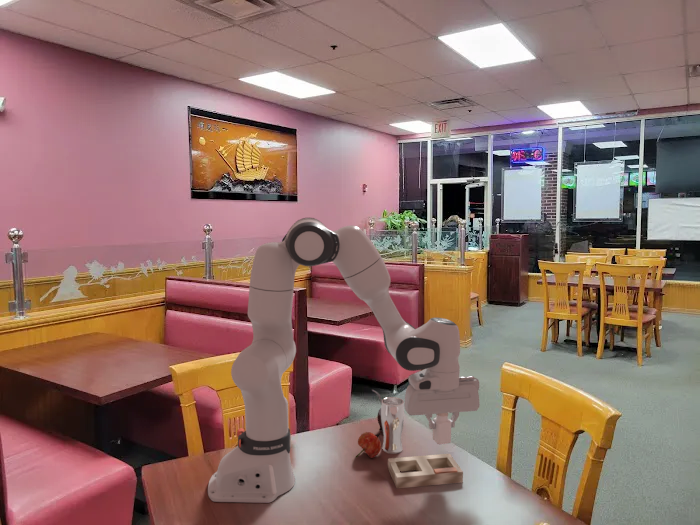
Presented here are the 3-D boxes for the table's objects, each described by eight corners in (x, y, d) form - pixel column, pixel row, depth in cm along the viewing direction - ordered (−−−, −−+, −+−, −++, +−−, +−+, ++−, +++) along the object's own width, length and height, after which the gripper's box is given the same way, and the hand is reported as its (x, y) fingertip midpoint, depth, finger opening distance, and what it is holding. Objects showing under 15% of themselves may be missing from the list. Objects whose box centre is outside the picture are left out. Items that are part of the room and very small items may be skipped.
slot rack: (396, 488, 134) (397, 476, 134) (387, 468, 144) (387, 457, 144) (462, 482, 137) (463, 470, 137) (449, 463, 147) (449, 452, 146)
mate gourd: (402, 430, 168) (403, 386, 166) (392, 440, 161) (392, 394, 159) (382, 425, 172) (382, 382, 170) (370, 434, 165) (371, 389, 163)
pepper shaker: (431, 439, 141) (432, 405, 140) (445, 437, 142) (445, 404, 141) (438, 445, 137) (438, 411, 136) (451, 443, 139) (452, 409, 137)
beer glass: (402, 455, 151) (403, 406, 149) (379, 453, 153) (379, 404, 151) (404, 444, 158) (405, 397, 156) (382, 442, 159) (382, 395, 158)
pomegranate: (364, 471, 147) (391, 448, 148) (348, 451, 146) (375, 429, 147) (360, 461, 154) (386, 439, 155) (345, 442, 154) (371, 420, 155)
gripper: (474, 372, 143) (473, 419, 144) (403, 376, 139) (402, 425, 141) (484, 379, 136) (482, 429, 138) (409, 384, 133) (408, 435, 135)
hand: (441, 427), depth 140 cm, fingers closed on pepper shaker, 4 cm apart
